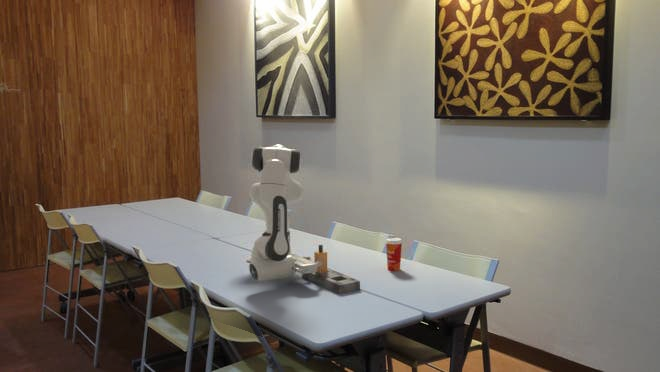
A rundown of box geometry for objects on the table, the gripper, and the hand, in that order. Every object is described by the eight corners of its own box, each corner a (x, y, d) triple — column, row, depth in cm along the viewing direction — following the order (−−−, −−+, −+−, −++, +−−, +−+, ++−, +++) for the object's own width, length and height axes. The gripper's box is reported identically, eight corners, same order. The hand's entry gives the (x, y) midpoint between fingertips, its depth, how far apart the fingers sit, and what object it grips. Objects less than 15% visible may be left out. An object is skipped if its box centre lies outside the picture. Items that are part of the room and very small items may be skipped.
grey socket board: (302, 276, 260) (302, 268, 260) (321, 272, 265) (321, 265, 265) (339, 293, 235) (339, 285, 234) (360, 289, 240) (360, 281, 240)
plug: (314, 278, 257) (314, 244, 255) (322, 277, 259) (322, 243, 257) (319, 280, 253) (319, 246, 251) (327, 279, 255) (327, 245, 253)
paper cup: (382, 268, 272) (382, 238, 270) (397, 266, 274) (397, 237, 272) (390, 272, 264) (390, 242, 263) (405, 270, 267) (405, 240, 265)
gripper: (299, 263, 237) (328, 258, 244) (275, 253, 254) (303, 249, 262) (299, 279, 238) (328, 273, 245) (276, 267, 255) (303, 263, 262)
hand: (315, 260), depth 254 cm, fingers open, 8 cm apart
